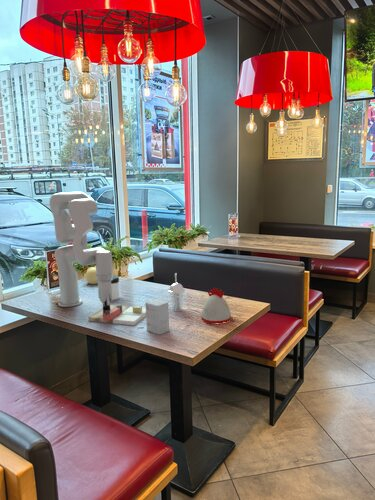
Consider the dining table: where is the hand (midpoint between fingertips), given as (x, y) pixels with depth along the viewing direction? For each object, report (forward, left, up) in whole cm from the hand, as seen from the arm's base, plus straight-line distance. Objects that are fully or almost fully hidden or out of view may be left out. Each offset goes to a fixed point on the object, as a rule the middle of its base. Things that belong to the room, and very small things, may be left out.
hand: (106, 314), depth 184 cm
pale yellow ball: (-41, +56, -3) cm, 70 cm away
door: (+10, +5, -3) cm, 12 cm away
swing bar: (+3, -1, -1) cm, 4 cm away
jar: (-14, +30, -3) cm, 34 cm away
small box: (+29, -7, -3) cm, 30 cm away
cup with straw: (+28, +20, -3) cm, 35 cm away
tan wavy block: (-1, +5, -3) cm, 6 cm away
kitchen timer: (+50, +13, -3) cm, 52 cm away
